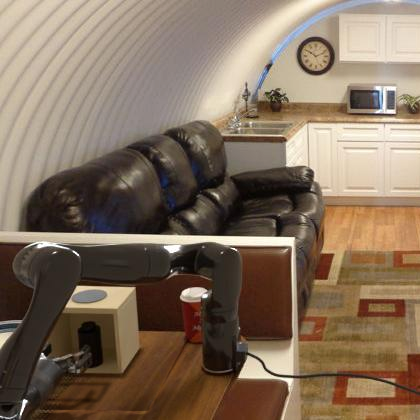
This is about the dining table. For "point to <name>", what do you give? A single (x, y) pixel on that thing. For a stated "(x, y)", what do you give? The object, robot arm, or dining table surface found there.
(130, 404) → the dining table surface
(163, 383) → the dining table surface
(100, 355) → the pepper mill
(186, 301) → the paper cup
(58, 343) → the cream hollow block
